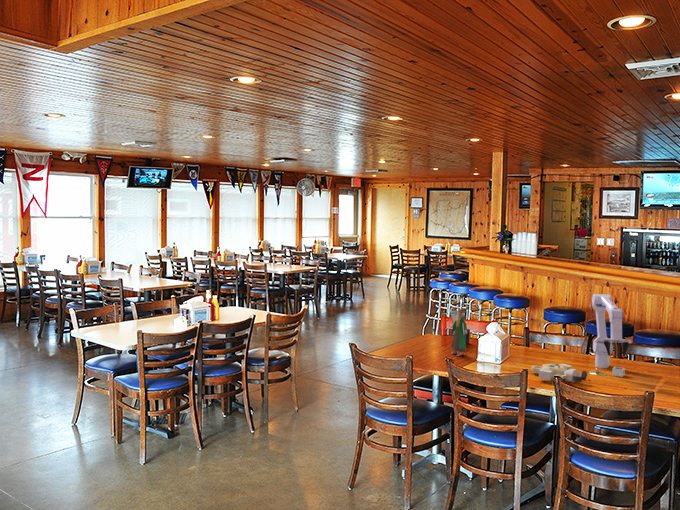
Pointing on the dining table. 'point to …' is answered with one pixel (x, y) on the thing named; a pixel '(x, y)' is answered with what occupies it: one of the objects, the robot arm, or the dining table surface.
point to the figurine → (459, 333)
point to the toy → (559, 372)
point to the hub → (597, 372)
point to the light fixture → (467, 338)
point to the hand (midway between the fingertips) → (616, 355)
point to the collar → (618, 371)
